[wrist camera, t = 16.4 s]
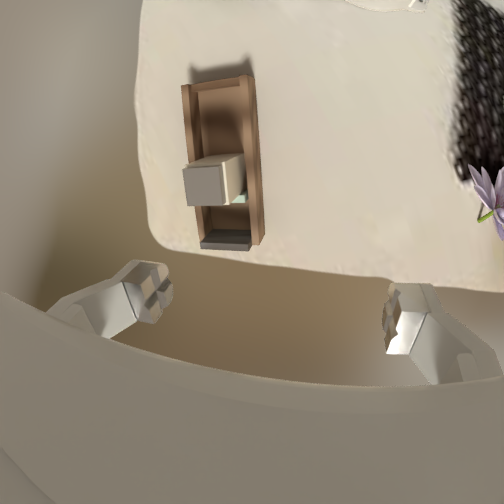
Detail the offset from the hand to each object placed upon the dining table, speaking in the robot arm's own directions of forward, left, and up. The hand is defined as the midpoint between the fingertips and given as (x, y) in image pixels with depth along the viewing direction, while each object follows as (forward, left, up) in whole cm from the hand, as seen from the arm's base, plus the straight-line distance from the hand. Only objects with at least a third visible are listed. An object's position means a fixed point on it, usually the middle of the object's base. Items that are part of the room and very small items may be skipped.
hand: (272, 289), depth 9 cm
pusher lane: (+6, -10, -30) cm, 32 cm away
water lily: (-15, +25, -30) cm, 42 cm away
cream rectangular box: (+7, -9, -29) cm, 31 cm away
